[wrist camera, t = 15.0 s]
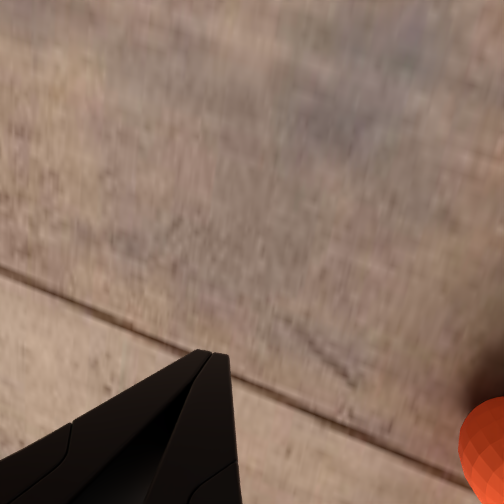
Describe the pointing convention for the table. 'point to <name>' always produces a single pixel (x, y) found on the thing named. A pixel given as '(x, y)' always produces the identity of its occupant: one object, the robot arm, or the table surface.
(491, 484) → the clementine
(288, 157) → the table surface
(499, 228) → the table surface
